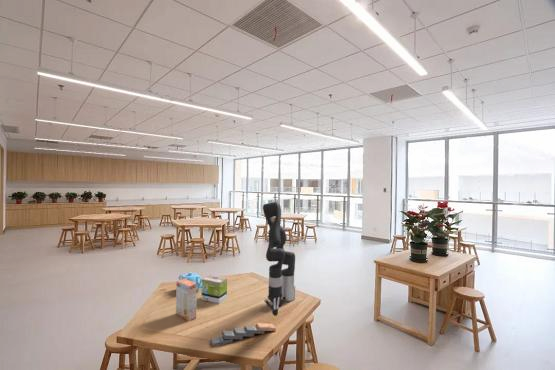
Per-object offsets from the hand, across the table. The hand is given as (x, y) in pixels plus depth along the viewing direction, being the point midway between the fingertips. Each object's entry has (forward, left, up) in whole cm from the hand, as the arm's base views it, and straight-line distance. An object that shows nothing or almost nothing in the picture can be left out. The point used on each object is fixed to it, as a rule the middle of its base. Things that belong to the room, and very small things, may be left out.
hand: (275, 315), depth 150 cm
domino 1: (+25, 0, -7) cm, 26 cm away
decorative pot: (+35, -77, -8) cm, 85 cm away
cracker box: (+43, -36, -8) cm, 57 cm away
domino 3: (+13, 0, -7) cm, 15 cm away
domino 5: (0, 0, -7) cm, 7 cm away
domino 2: (+20, 0, -7) cm, 21 cm away
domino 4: (+7, 0, -7) cm, 10 cm away
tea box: (+22, -53, -8) cm, 58 cm away
